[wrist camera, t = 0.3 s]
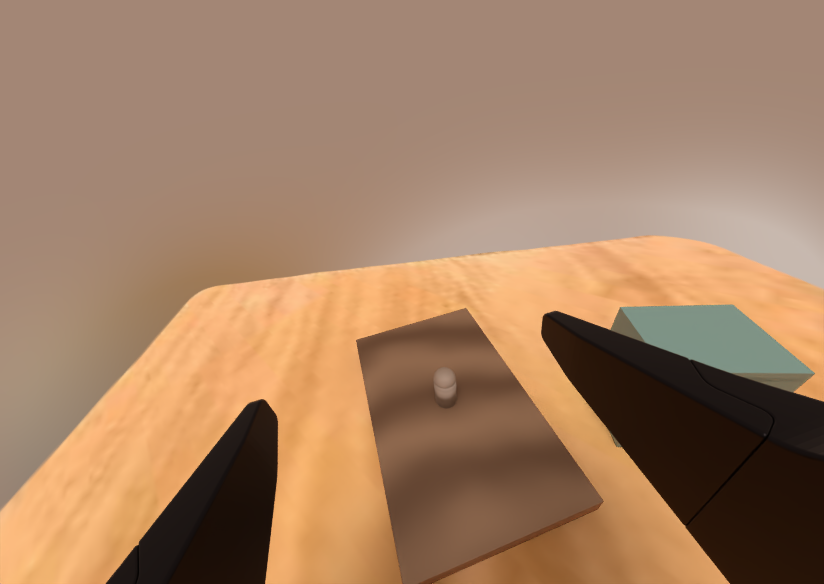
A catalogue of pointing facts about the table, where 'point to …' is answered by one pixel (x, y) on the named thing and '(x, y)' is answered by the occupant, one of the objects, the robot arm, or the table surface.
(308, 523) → the table surface
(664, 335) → the seafoam square prism
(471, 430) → the stud board
